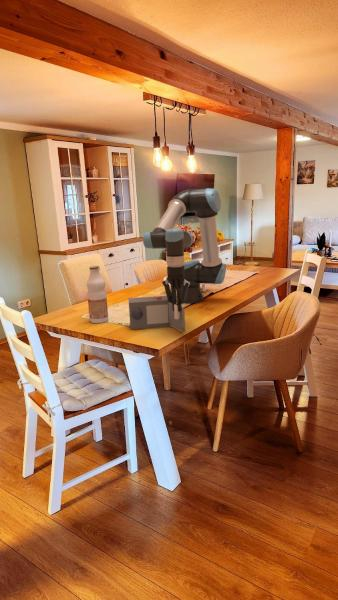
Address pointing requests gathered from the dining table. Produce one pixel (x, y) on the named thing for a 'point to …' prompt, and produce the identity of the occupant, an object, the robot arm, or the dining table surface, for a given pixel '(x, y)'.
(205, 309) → the dining table surface
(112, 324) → the dining table surface
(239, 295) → the dining table surface
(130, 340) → the dining table surface
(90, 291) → the fruit juice
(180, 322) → the side door
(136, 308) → the camera block
